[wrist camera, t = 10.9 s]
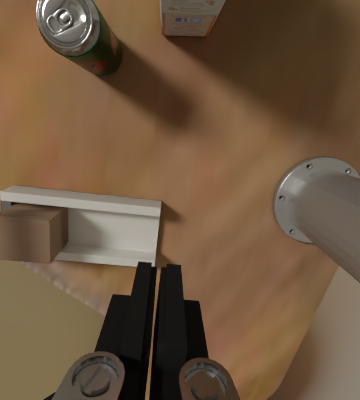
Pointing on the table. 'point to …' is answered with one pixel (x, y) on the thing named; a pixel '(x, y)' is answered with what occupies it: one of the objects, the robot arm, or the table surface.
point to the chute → (98, 224)
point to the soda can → (79, 34)
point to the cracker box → (189, 16)
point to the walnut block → (33, 232)
